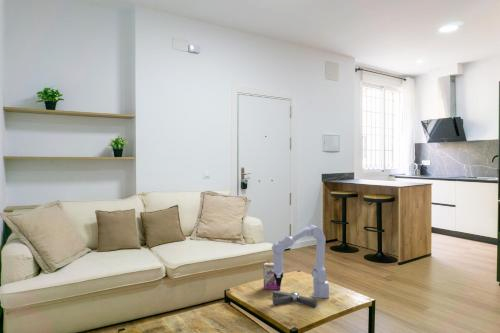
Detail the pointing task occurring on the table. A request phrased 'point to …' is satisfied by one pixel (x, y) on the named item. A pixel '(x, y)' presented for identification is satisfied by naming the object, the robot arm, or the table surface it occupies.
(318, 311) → the table surface
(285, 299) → the stool base
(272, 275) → the candy bar box
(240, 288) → the table surface
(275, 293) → the folding foot
